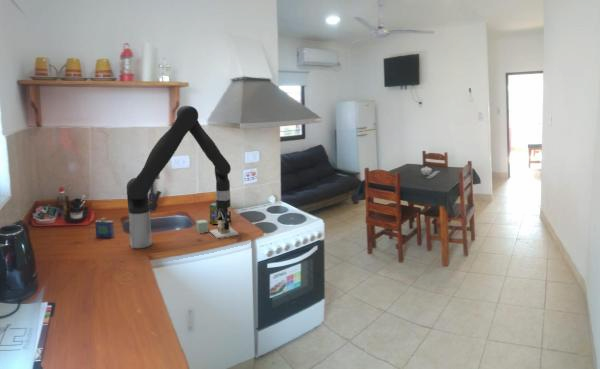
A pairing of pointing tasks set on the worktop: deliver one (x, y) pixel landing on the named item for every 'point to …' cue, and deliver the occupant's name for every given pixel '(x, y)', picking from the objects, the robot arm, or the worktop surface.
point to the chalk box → (213, 214)
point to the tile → (219, 235)
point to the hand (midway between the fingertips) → (223, 227)
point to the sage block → (201, 226)
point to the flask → (104, 229)
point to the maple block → (222, 227)
